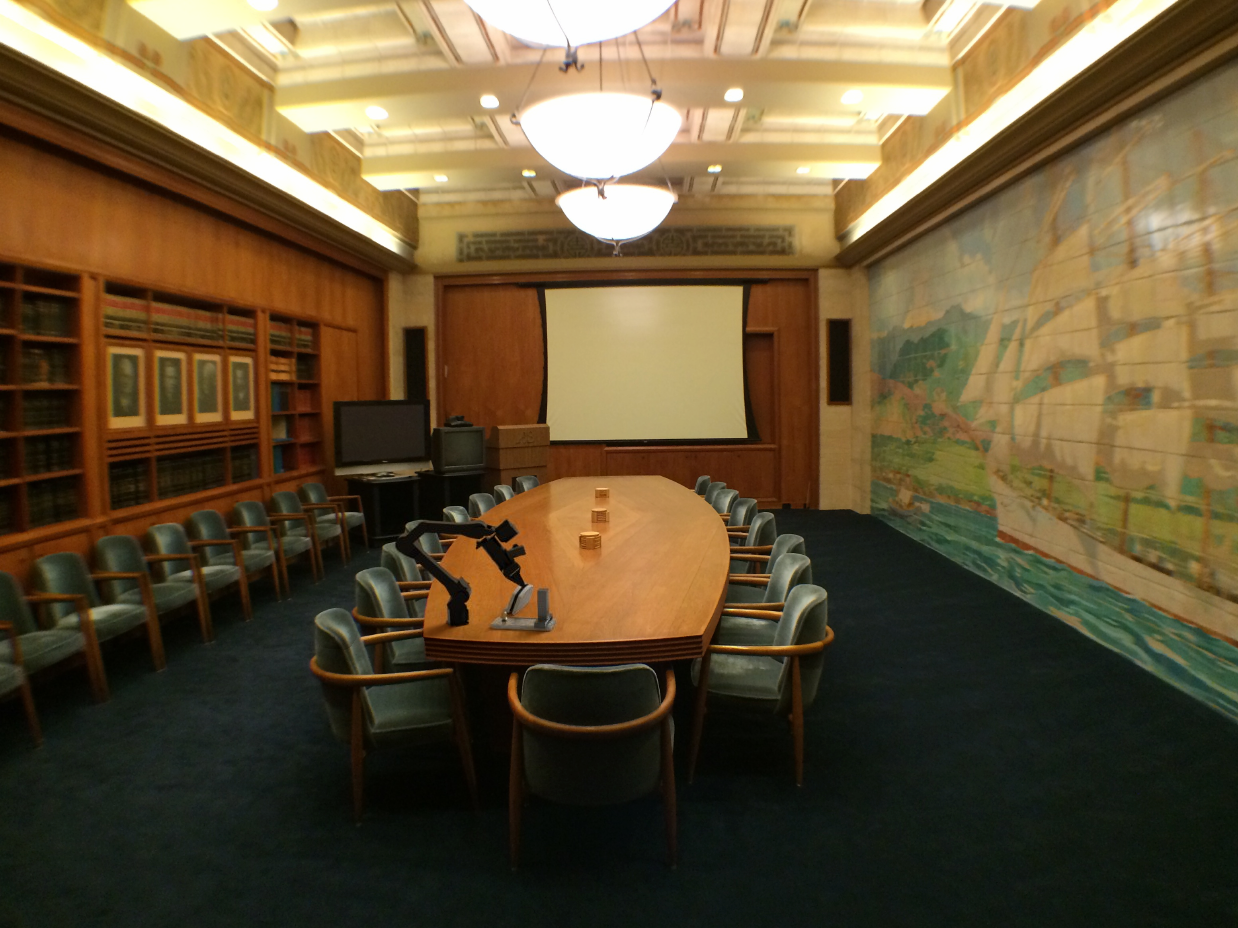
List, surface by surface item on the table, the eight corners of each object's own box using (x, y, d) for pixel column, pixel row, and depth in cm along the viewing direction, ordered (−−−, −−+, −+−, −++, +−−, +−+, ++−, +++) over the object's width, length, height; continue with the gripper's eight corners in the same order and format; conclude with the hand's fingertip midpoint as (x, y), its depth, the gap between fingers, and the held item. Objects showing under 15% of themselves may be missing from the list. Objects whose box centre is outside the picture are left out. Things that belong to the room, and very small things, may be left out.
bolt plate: (491, 628, 237) (490, 615, 236) (498, 620, 245) (497, 608, 244) (550, 630, 234) (550, 617, 233) (556, 622, 242) (556, 610, 241)
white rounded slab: (517, 600, 268) (525, 576, 267) (528, 604, 268) (536, 581, 266) (501, 613, 252) (509, 589, 251) (513, 618, 251) (521, 594, 250)
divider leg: (534, 628, 233) (533, 593, 232) (541, 618, 244) (540, 585, 242) (545, 628, 233) (544, 594, 232) (552, 618, 243) (552, 585, 242)
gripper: (517, 538, 234) (545, 574, 236) (511, 534, 252) (537, 567, 254) (491, 559, 232) (519, 595, 234) (486, 553, 250) (513, 587, 252)
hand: (523, 585), depth 244 cm, fingers open, 9 cm apart
